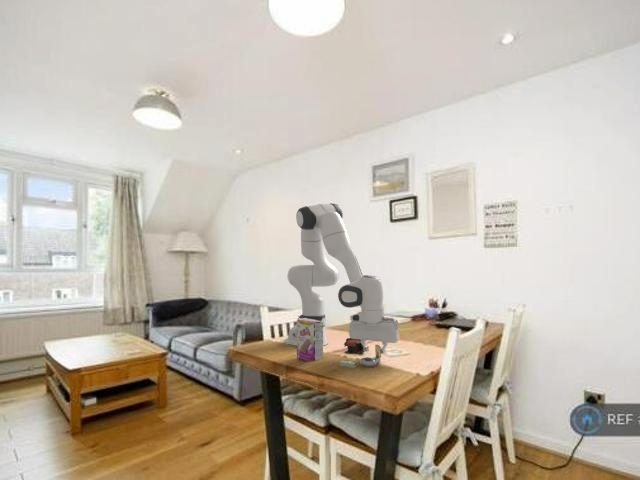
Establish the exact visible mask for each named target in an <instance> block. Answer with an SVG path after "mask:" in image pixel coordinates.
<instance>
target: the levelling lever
mask: <svg viewBox="0 0 640 480" xmlns="http://www.w3.org/2000/svg"><path fill="white" fill-rule="evenodd" d="M374 345H375V346H374V347H375V348H374V349H375V356H374V357H369V356H368V357H367V356H366V357H362V358H360V361H359V364H360V366H361V367H364V368H375V367H377V363H381V357H382V353H380V349H381V348H382V344H374Z"/></svg>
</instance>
